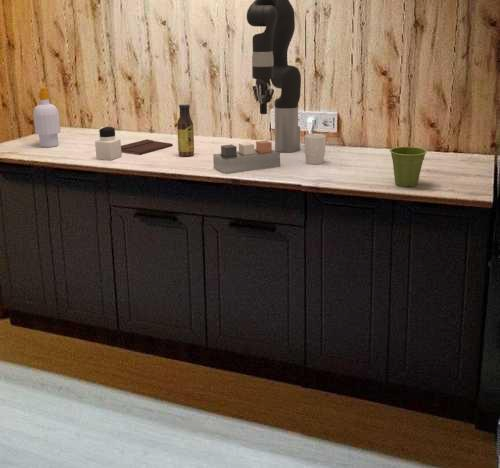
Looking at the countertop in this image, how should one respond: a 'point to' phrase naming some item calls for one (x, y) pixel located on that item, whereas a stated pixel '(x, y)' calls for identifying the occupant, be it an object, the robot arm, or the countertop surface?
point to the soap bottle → (46, 121)
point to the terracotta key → (263, 146)
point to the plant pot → (407, 164)
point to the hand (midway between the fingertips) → (263, 113)
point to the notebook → (144, 147)
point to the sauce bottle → (185, 132)
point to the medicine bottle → (108, 144)
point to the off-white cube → (246, 148)
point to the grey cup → (315, 148)
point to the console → (246, 161)
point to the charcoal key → (228, 150)
